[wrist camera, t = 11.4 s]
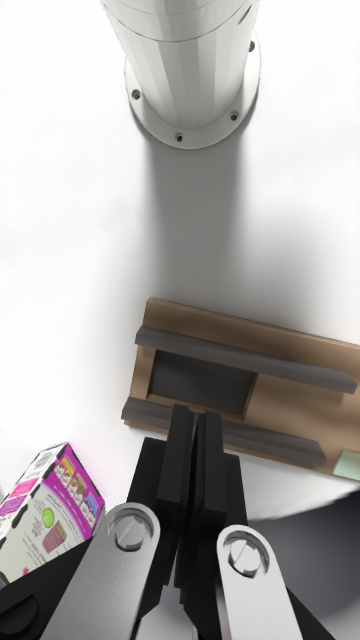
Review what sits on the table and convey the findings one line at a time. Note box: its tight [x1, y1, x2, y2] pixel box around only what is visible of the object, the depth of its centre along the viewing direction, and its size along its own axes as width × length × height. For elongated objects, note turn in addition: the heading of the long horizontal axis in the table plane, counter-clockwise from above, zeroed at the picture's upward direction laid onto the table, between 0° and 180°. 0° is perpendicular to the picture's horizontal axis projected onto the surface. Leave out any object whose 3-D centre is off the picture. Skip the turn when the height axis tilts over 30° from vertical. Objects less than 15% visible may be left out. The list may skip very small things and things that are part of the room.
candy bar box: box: [0, 442, 105, 590], centre depth 37 cm, size 11×5×16 cm, turn 25°
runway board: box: [121, 297, 360, 481], centre depth 36 cm, size 16×38×5 cm, turn 78°
